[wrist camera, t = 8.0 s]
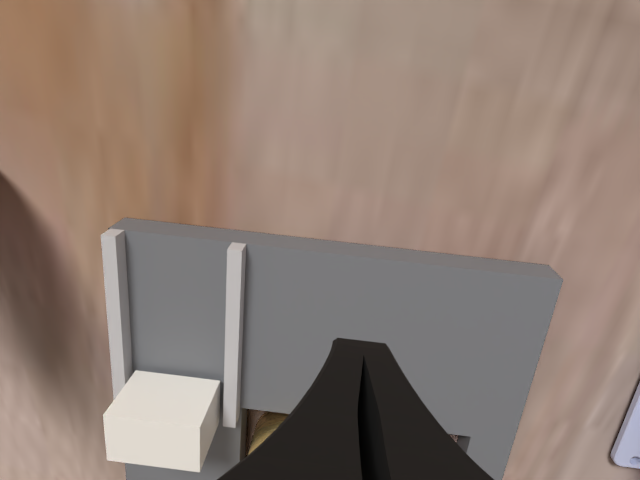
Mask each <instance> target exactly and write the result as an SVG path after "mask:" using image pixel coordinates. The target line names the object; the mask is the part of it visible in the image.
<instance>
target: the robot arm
mask: <svg viewBox="0 0 640 480" xmlns="http://www.w3.org/2000/svg"><path fill="white" fill-rule="evenodd" d="M632 457H634V458H632ZM611 458H612V459H613V461H614V462H615V464H617V465H619V466H623V467H631V468H639V469H640V383H639V385H638V387H637V390H636V392H635V395H634V397H633V400H632V402H631V405H630V407H629V410H628V412H627V415H626V417H625V419H624V422H623V424H622V427H621V429H620V432H619V434H618V437H617V439H616V442H615V444H614V447H613V449H612V451H611ZM217 480H494V479H493V478H492V477H491V476H490V475H488V474H487V473H486V472H485V471H484V470H483V469H482V468H481V467H480V466H478V465H477V464H476V463H475V462H474V461H473V460H472V459H471V458H470V457H469V456H468V455H467V454H466V453H465V452H464V451H463V450H462V449H461V447H460V446H459V445H458V444H457V443H456V442H455V441H454V440H453V439H452V438H451V437H450V436H449V435H448V434H447V432H446V431H445V430H444V429H443V428H442V426H441V425H440V424H439V423H438V421H437V420H436V419H435V418H434V416H433V415H432V414H431V412H430V411H429V410H428V408H427V407H426V406H425V404H424V403H423V402H422V400H421V399H420V397H419V396H418V394H417V393H416V391H415V390H414V388H413V387H412V386H411V384H410V383H409V381H408V379H407V378H406V376H405V375H404V373H403V371H402V370H401V368H400V366H399V365H398V363H397V361H396V360H395V358H394V356H393V354H392V352H391V350H390V349H389V347H388V346H387V344H386V343H379V342H370V341H362V340H353V339H345V338H336V339H335V340H334V341H333V343H332V347H331V350H330V353H329V355H328V357H327V359H326V361H325V363H324V365H323V367H322V369H321V371H320V372H319V374H318V376H317V377H316V379H315V381H314V382H313V384H312V385H311V387H310V388H309V389H308V391H307V392H306V394H305V395H304V396H303V398H302V399H301V400H300V402H299V403H298V404H297V406H296V407H295V408H294V409H293V411H292V412H291V413H290V414H289V415H288V417H287V418H286V419H285V420H284V421H283V422H282V423H281V424H280V425H279V426H278V428H277V429H276V430H275V431H274V432H273V433H272V434H271V435H270V436H268V437H267V438H266V439H265V440H264V441H263V442H262V443H261V444H260V445H259V446H258V447H257V448H256V449H255V450H254V451H252V452H251V453H250V454H249V455H248V456H247V457H245V458H244V459H243V460H241V461H240V462H239V463H238V464H236V465H235V466H234V467H232V468H231V469H230V470H229V471H227V472H226V473H225V474H223V475H222V476H221V477H219V478H218V479H217Z"/></svg>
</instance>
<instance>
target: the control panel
mask: <svg viewBox="0 0 640 480" xmlns="http://www.w3.org/2000/svg"><path fill="white" fill-rule="evenodd" d="M101 244H102V257H103V270H104V283H105V295H106V308H107V321H108V334H109V347H110V359H111V372H112V385H113V398H114V399H115V398H116V397H117V395H118V394H119V393H120V391H121V390H122V388H123V387H124V386H125V384H126V383H127V382H128V380H129V379H130V377H131V376H132V375H133V373H134V372H135V371H136V370H138V371H146V372H154V373H163V374H171V375H179V376H187V377H195V378H203V379H211V380H219V381H220V417H219V424H218V427H217V429H216V432H215V434H214V437H213V440H212V442H211V445H210V447H209V450H208V453H207V455H206V458H205V460H204V463H203V466H202V468H201V471H200V472H192V471H185V470H177V469H169V468H162V467H154V466H146V465H139V464H131V463H125V469H126V480H217V479H218V478H219V477H221V476H222V475H223V474H225V473H226V472H227V471H229V470H230V469H231V468H232V467H234V466H235V465H236V464H238V463H239V462H240V461H241V460H243V459H244V458H245V451H246V430H247V409H254V410H262V411H270V412H278V413H286V414H290V413H291V412H292V411H293V409H294V408H295V407H296V406H297V404H298V403H299V402H300V400H301V399H302V398H303V396H304V395H305V394H306V392H307V391H308V389H309V388H310V387H311V385H312V384H313V382H314V381H315V379H316V377H317V376H318V374H319V372H320V371H321V369H322V367H323V365H324V363H325V361H326V359H327V357H328V355H329V353H330V350H331V347H332V343H333V341H334V340H335V339H336V338H345V339H353V340H362V341H370V342H379V343H386V344H387V346H388V347H389V349H390V350H391V352H392V354H393V356H394V358H395V360H396V361H397V363H398V365H399V366H400V368H401V370H402V371H403V373H404V375H405V376H406V378H407V379H408V381H409V383H410V384H411V386H412V387H413V388H414V390H415V391H416V393H417V394H418V396H419V397H420V399H421V400H422V402H423V403H424V404H425V406H426V407H427V408H428V410H429V411H430V412H431V414H432V415H433V416H434V418H435V419H436V420H437V421H438V423H439V424H440V425H441V426H442V428H443V429H444V430H445V431H446V432H447V434H453V435H459V436H458V440H457V444H458V445H459V446H460V447H461V449H462V450H463V451H464V452H465V453H466V454H467V455H468V456H469V457H470V458H471V459H472V460H473V461H474V462H475V463H476V464H477V465H478V466H480V467H481V468H482V469H483V470H484V471H485V472H486V473H487V474H488V475H490V476H491V477H492V478H493V479H494V480H502V478H503V474H504V471H505V468H506V465H507V461H508V458H509V455H510V451H511V448H512V445H513V442H514V438H515V435H516V432H517V429H518V425H519V422H520V419H521V416H522V412H523V409H524V406H525V403H526V399H527V396H528V393H529V390H530V386H531V383H532V380H533V377H534V373H535V370H536V367H537V364H538V360H539V357H540V354H541V350H542V347H543V344H544V341H545V337H546V334H547V331H548V328H549V324H550V321H551V318H552V315H553V311H554V308H555V305H556V302H557V298H558V295H559V292H560V289H561V285H562V282H563V279H562V278H561V277H560V276H559V275H558V274H557V273H556V272H555V271H554V270H553V269H552V268H551V267H550V266H549V265H542V264H533V263H524V262H515V261H506V260H497V259H488V258H480V257H471V256H462V255H453V254H444V253H435V252H426V251H417V250H408V249H399V248H390V247H382V246H373V245H364V244H355V243H346V242H337V241H328V240H319V239H310V238H301V237H292V236H284V235H275V234H266V233H257V232H248V231H239V230H230V229H221V228H212V227H203V226H194V225H186V224H177V223H168V222H159V221H150V220H141V219H132V218H124V219H122V220H120V221H119V222H117V223H116V224H114V225H113V226H111V227H109V228H108V231H106V232H104V233H103V234H101Z"/></svg>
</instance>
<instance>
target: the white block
mask: <svg viewBox="0 0 640 480" xmlns="http://www.w3.org/2000/svg"><path fill="white" fill-rule="evenodd" d="M219 417H220V381H219V380H211V379H203V378H195V377H187V376H179V375H171V374H163V373H154V372H146V371H138V370H136V371H135V372H134V373H133V375H132V376H131V377H130V379H129V380H128V382H127V383H126V384H125V386H124V387H123V388H122V390H121V391H120V393H119V394H118V395H117V397H116V398H115V399H114V401H113V402H112V403H111V405H110V406H109V408H108V409H107V410H106V412H105V413H104V414H103V421H104V432H105V443H106V454H107V460H108V461H116V462H123V463H131V464H139V465H146V466H154V467H162V468H169V469H177V470H185V471H192V472H200V471H201V468H202V466H203V463H204V460H205V458H206V455H207V453H208V450H209V447H210V445H211V442H212V440H213V437H214V434H215V432H216V429H217V427H218V424H219Z"/></svg>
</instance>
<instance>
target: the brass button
mask: <svg viewBox="0 0 640 480" xmlns="http://www.w3.org/2000/svg"><path fill="white" fill-rule="evenodd" d="M288 415H289V414H286V413H278V412H270V411H267V412H266V413H264V414H263V415H262V416H261V417H260V419H259V420H258V422H257V424H256V428H255V431H254V435H253V438H252V442H251V446H250V449H249V453H248V455H249V454H250V453H251V452H252V451H254V450H255V449H256V448H257V447H258V446H259V445H260V444H261V443H262V442H263V441H264V440H265V439H266V438H267V437H268V436H270V435H271V434H272V433H273V432H274V431H275V430H276V429H277V428H278V426H279V425H280V424H281V423H282V422H283V421H284V420H285V419H286V418H287V417H288Z"/></svg>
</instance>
